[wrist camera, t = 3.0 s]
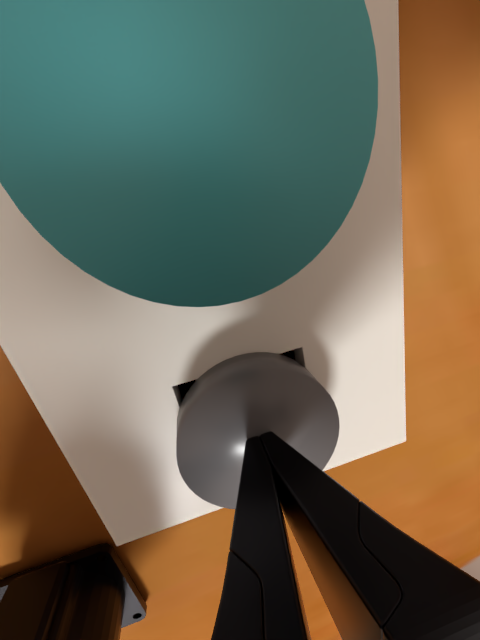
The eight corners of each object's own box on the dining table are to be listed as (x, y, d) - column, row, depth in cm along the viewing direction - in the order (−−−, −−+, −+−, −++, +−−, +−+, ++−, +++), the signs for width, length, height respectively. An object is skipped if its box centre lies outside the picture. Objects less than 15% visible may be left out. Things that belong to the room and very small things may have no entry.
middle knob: (287, 245, 9) (385, 261, 5) (128, 286, 9) (75, 346, 4) (256, 47, 7) (367, -210, 3) (51, 81, 7) (-176, -182, 2)
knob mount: (351, 390, 16) (406, 441, 12) (133, 462, 14) (116, 546, 10) (282, -321, 8) (382, -853, 4) (-236, -319, 6) (-874, -1163, 2)
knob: (295, 400, 14) (346, 477, 10) (195, 433, 14) (202, 530, 9) (277, 305, 13) (330, 347, 8) (161, 338, 12) (151, 402, 8)
